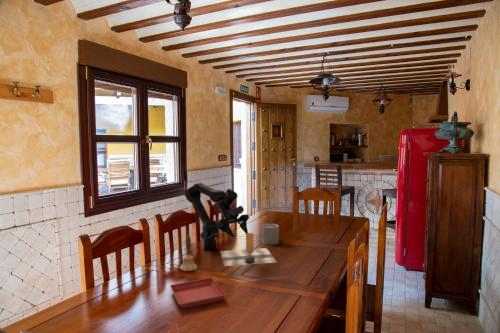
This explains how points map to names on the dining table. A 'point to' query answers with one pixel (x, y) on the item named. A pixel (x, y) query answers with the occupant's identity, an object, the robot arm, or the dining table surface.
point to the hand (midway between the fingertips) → (240, 235)
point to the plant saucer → (197, 292)
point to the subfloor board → (239, 256)
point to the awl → (250, 247)
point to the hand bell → (188, 258)
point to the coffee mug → (270, 234)
